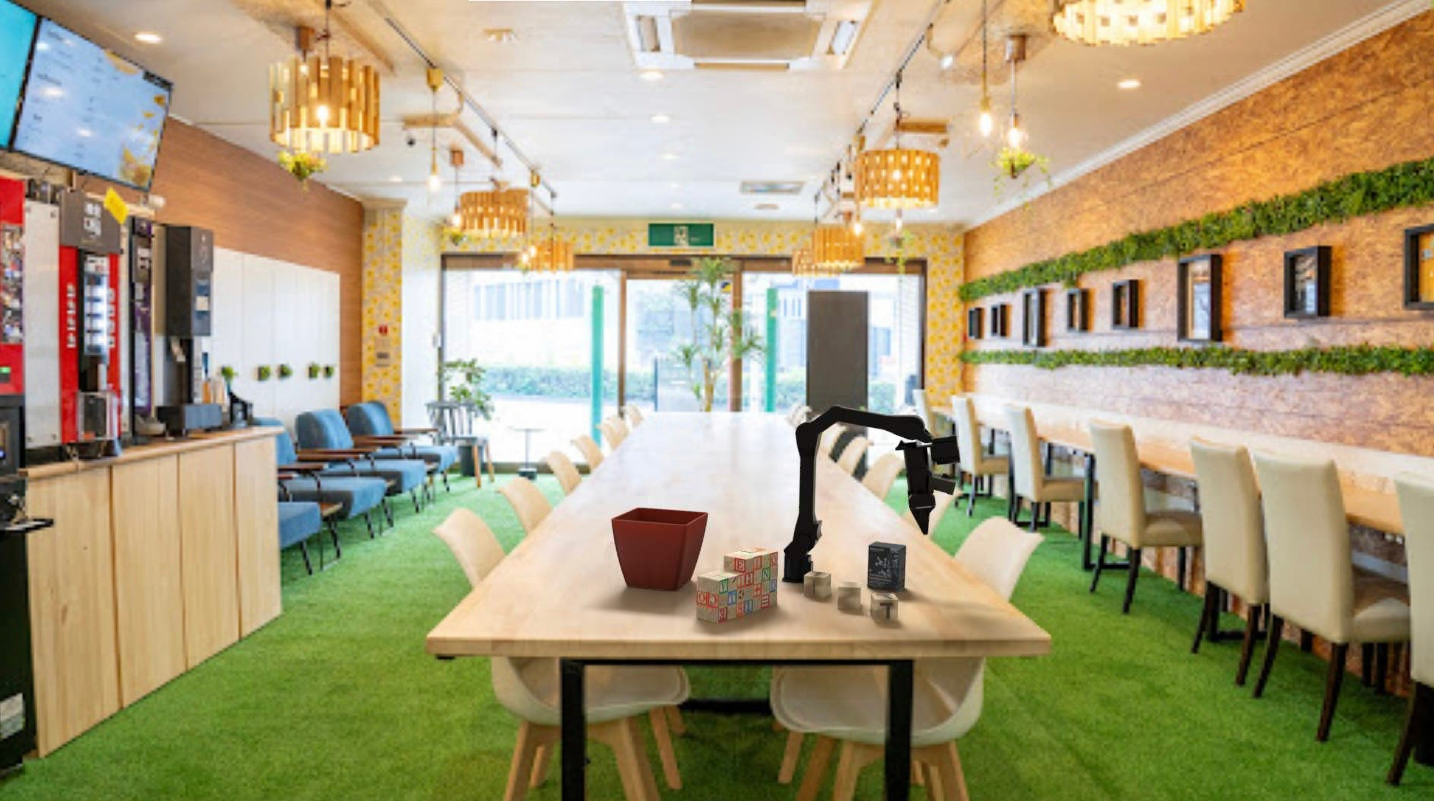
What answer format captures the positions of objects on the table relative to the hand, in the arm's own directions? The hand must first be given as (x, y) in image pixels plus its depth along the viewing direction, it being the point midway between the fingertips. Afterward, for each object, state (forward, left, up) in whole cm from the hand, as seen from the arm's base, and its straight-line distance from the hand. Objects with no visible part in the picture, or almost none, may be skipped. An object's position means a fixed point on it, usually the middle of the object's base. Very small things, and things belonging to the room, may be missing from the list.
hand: (925, 531), depth 230 cm
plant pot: (-61, -20, -14) cm, 65 cm away
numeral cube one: (-23, -15, -14) cm, 31 cm away
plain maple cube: (-14, -22, -14) cm, 29 cm away
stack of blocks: (-36, -35, -15) cm, 52 cm away
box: (-9, -2, -14) cm, 17 cm away
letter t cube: (-5, -29, -14) cm, 32 cm away
